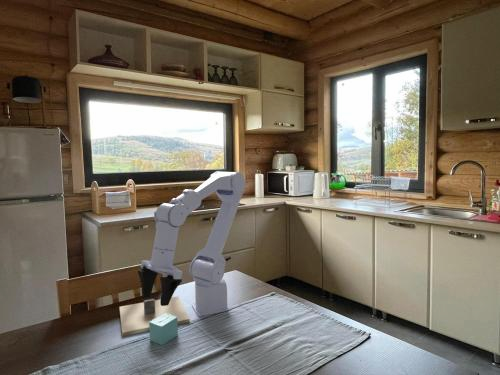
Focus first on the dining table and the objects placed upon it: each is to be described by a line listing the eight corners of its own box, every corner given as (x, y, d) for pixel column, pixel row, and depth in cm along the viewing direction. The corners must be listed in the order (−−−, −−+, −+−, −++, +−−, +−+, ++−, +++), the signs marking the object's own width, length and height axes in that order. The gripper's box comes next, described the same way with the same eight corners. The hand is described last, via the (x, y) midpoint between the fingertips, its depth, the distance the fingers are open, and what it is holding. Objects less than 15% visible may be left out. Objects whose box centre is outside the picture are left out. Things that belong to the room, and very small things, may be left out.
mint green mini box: (165, 330, 91) (165, 312, 90) (177, 334, 88) (177, 316, 88) (149, 340, 86) (149, 321, 85) (162, 345, 84) (161, 326, 83)
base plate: (178, 299, 109) (177, 284, 109) (189, 322, 95) (189, 305, 94) (119, 309, 102) (118, 294, 102) (122, 336, 88) (121, 318, 87)
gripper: (135, 243, 89) (125, 295, 88) (170, 253, 80) (160, 311, 79) (156, 244, 94) (147, 293, 93) (191, 253, 86) (182, 307, 84)
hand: (155, 301), depth 86 cm, fingers open, 7 cm apart
